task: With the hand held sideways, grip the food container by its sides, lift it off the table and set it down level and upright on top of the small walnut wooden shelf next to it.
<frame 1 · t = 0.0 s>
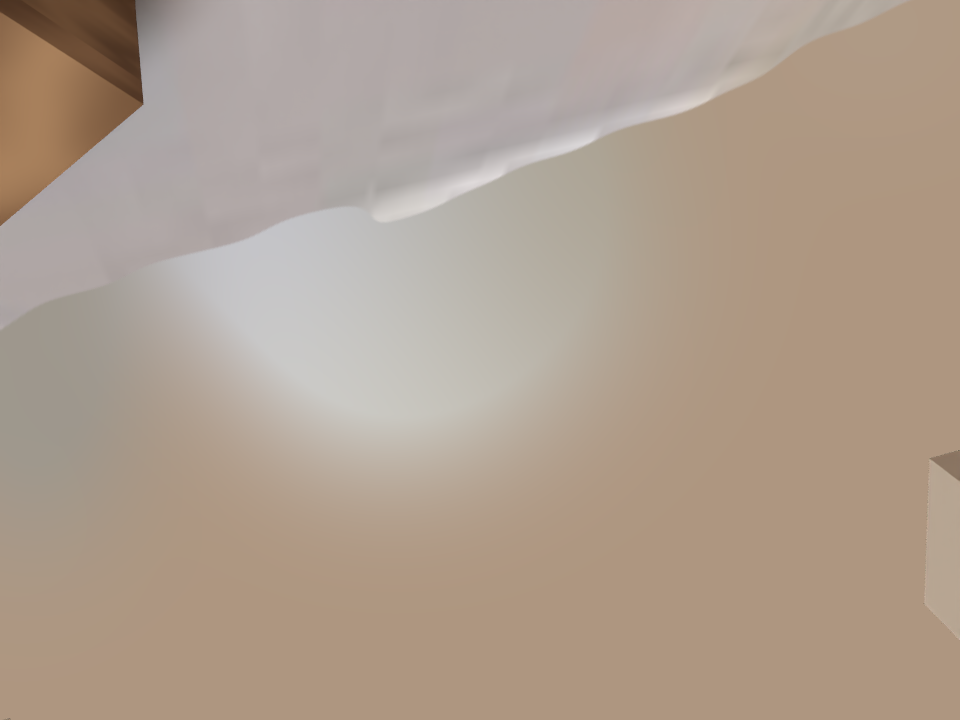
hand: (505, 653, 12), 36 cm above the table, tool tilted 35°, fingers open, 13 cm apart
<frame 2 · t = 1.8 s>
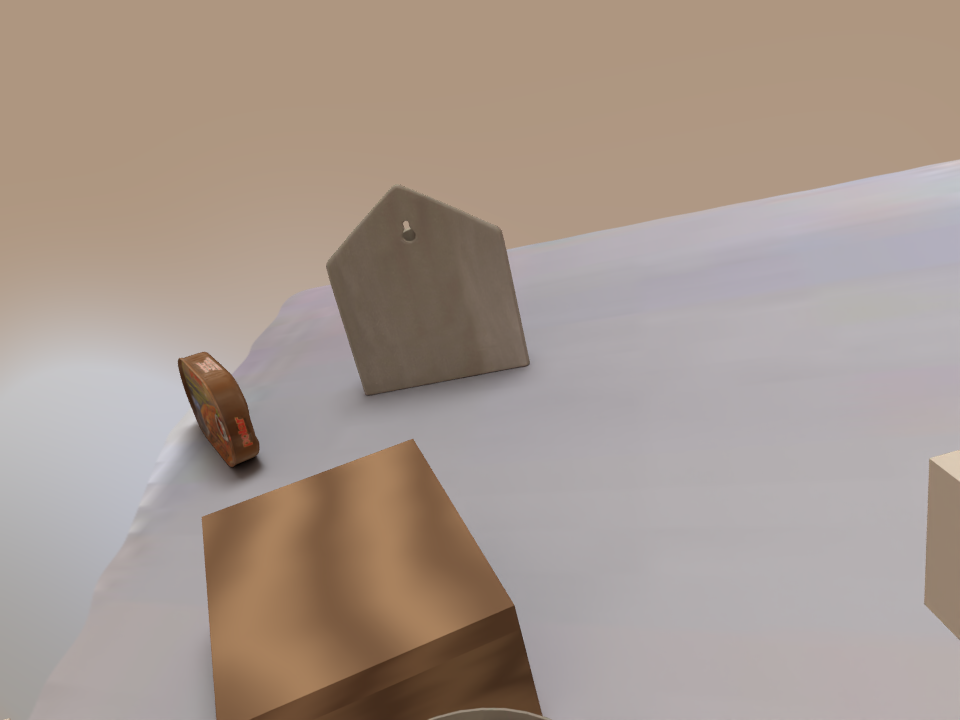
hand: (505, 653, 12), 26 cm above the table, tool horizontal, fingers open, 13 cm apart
planter: (448, 364, 82), on the table
walnut shelf: (374, 661, 48), on the table
tin: (233, 445, 77), on the table
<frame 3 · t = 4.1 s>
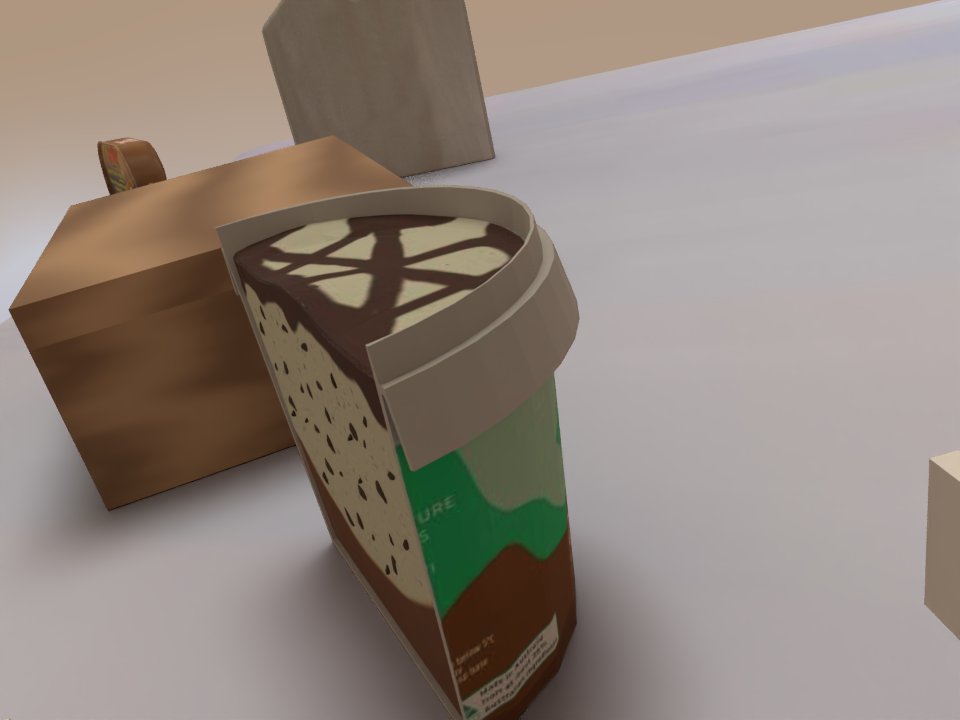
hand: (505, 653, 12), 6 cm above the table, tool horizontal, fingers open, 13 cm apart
planter: (406, 169, 73), on the table
food container: (492, 578, 22), on the table
walnut shelf: (271, 361, 39), on the table
tin: (158, 243, 68), on the table
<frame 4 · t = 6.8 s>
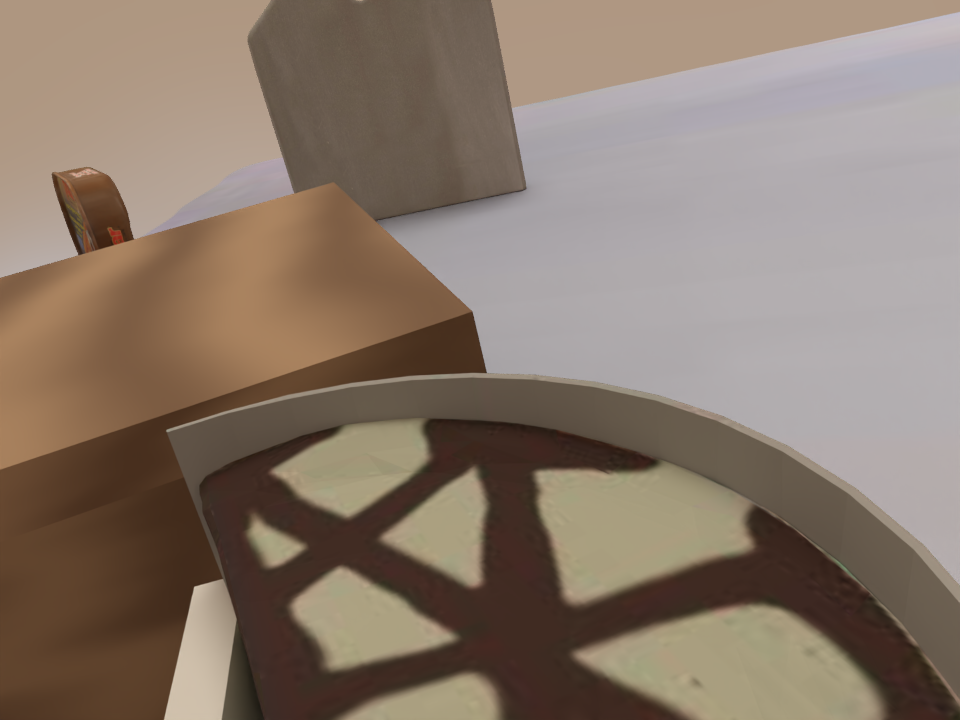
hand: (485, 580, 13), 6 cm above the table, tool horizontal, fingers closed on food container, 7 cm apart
planter: (419, 200, 62), on the table
walnut shelf: (248, 508, 28), on the table
tin: (125, 293, 57), on the table
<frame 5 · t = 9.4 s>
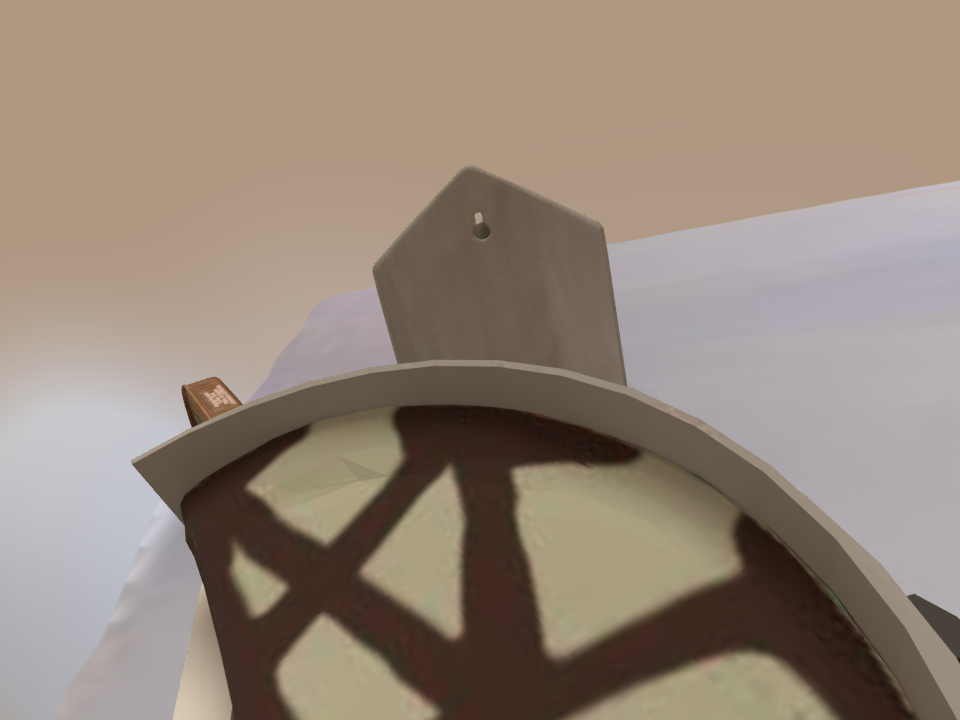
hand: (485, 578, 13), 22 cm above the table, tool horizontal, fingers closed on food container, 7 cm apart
planter: (521, 395, 65), on the table
tin: (250, 497, 60), on the table
when the fingers open (15 cm above the table, at t = 11.8 s): food container drops 1 cm, resting on walnut shelf.
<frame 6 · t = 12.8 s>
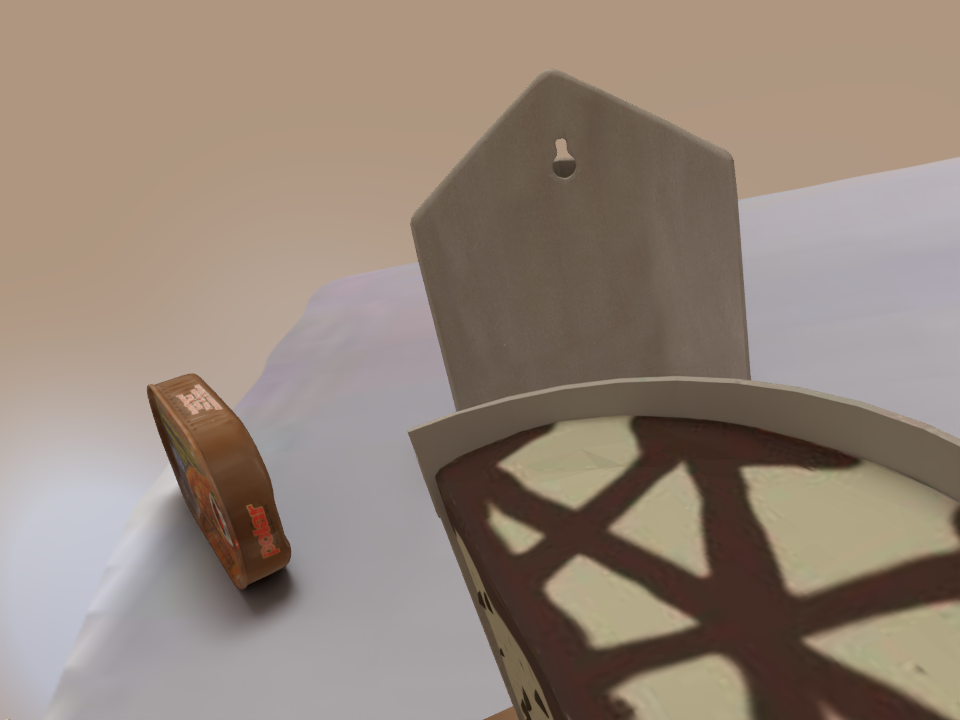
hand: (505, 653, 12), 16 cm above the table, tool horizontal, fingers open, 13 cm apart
planter: (598, 395, 50), on the table
tin: (242, 538, 44), on the table
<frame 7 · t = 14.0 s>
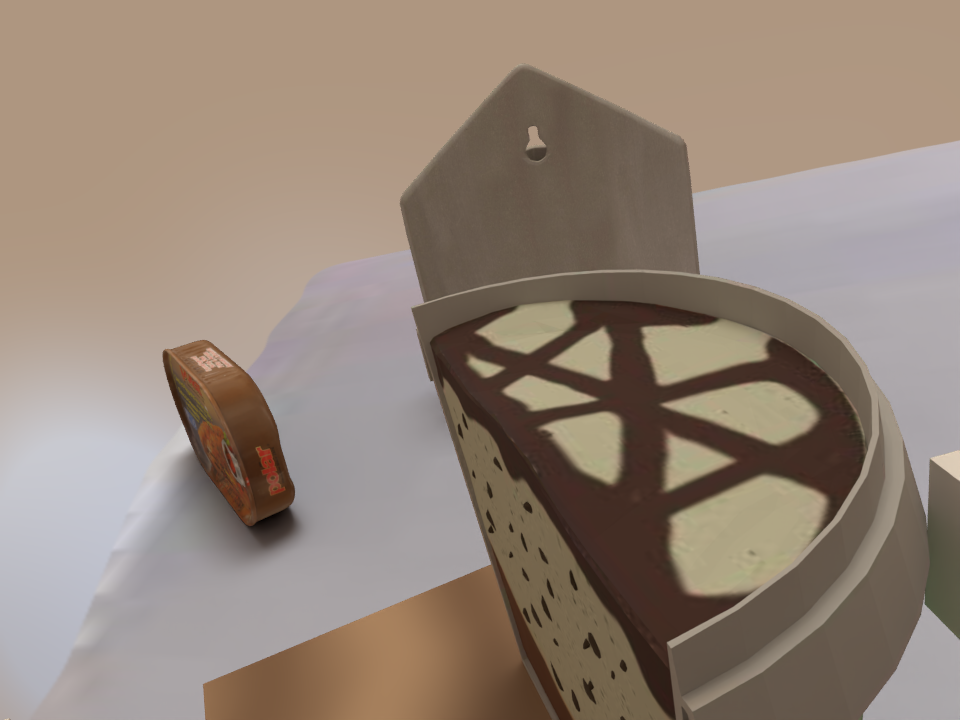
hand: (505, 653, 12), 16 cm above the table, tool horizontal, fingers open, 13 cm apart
planter: (572, 361, 55), on the table
tin: (249, 487, 49), on the table
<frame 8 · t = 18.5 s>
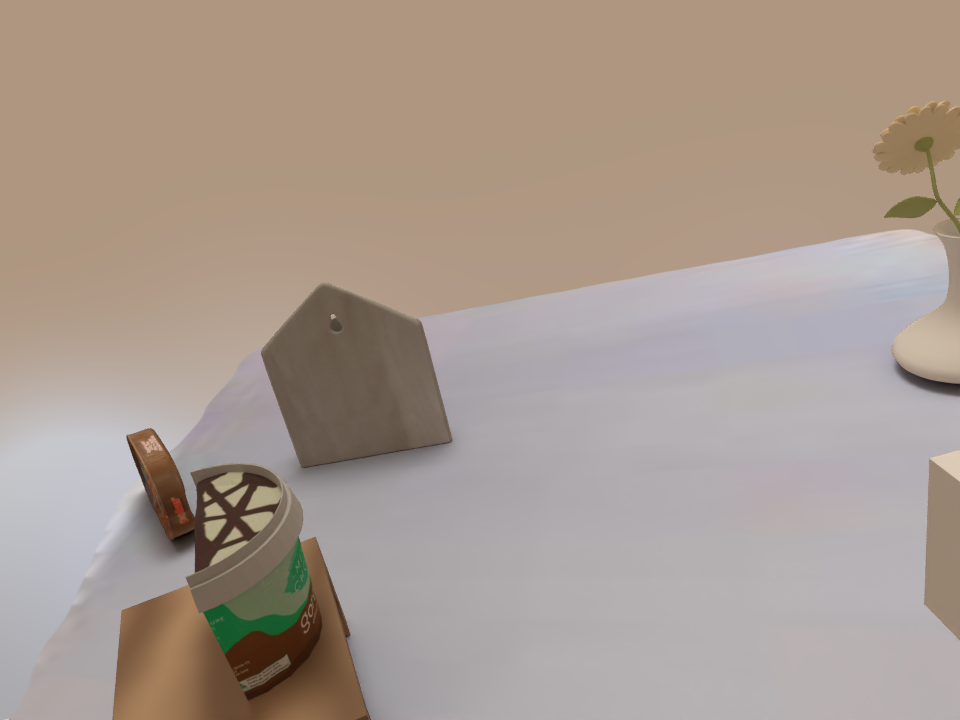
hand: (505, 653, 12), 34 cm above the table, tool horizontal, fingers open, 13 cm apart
flower in vase: (948, 367, 78), on the table
planter: (380, 437, 89), on the table
food container: (293, 631, 52), point 8 cm above the table, touching walnut shelf
tin: (176, 516, 83), on the table
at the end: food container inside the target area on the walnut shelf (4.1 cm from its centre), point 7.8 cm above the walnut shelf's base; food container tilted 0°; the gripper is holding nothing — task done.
